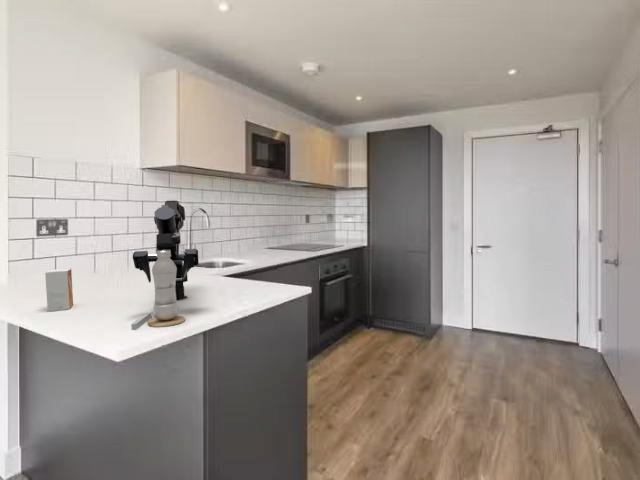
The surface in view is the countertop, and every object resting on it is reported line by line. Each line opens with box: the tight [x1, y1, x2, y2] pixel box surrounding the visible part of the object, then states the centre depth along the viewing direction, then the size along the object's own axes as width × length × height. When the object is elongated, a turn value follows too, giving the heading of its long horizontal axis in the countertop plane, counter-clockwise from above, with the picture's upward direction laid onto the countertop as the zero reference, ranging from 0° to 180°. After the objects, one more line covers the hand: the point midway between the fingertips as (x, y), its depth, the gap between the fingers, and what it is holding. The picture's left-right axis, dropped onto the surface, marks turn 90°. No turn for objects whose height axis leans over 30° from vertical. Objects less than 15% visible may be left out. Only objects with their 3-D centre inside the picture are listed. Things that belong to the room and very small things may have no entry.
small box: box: [44, 268, 74, 312], centre depth 128 cm, size 8×6×13 cm
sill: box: [131, 312, 153, 331], centre depth 107 cm, size 12×1×2 cm, turn 6°
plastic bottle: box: [151, 250, 179, 320], centre depth 107 cm, size 6×7×20 cm
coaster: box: [146, 315, 186, 328], centre depth 108 cm, size 10×10×1 cm
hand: (166, 280), depth 113 cm, fingers open, 9 cm apart
